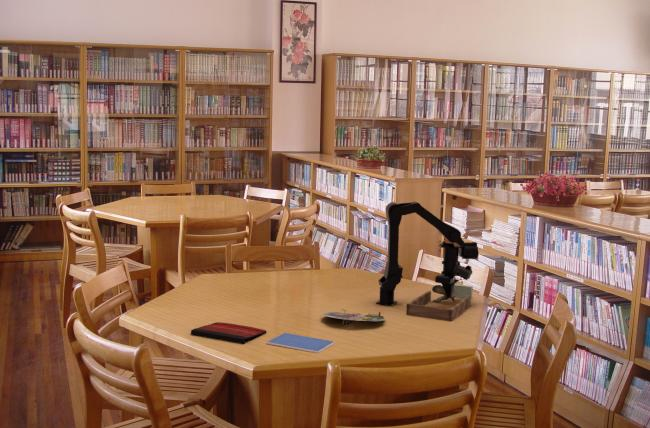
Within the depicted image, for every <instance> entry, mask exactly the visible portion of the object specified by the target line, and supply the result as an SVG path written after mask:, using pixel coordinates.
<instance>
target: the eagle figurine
mask: <svg viewBox="0 0 650 428" xmlns="http://www.w3.org/2000/svg"><path fill="white" fill-rule="evenodd" d="M431 290H432V291H431V292H433V293H436V294H439V295H442V296H439V297H437V298H436V299H433V300H432V303H441V302H443V301H448V300H449V299H450V300H452V302H455V298H456V297H455V295H456V291H455V290H454V289H453V291H452V293H451V297H450V298H448V297H447V295H446V293H445V290H444V288H443V286H442V284H436V285H433V286H432V288H431Z"/></svg>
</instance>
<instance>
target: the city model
mask: <svg viewBox="0 0 650 428" xmlns="http://www.w3.org/2000/svg"><path fill="white" fill-rule="evenodd" d="M341 311H343V312H338V311H331V312H330V311H329V312H322V316H326V317H327V318H328V317H329V318H334V319H340V320H342V324H343V326H346V327H347V328H348V327H349V326H351V323H352V321H363V322H364V321H365V322H382V321H383V322H384V321H386V319H387V318H384V317H385V316H383V315H381V312H380V311H379V312H378V314H377V313H376V314H375V313H368V314H361V313H351V312H346V309H344V308H343V309H341Z"/></svg>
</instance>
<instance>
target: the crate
mask: <svg viewBox="0 0 650 428" xmlns="http://www.w3.org/2000/svg"><path fill="white" fill-rule="evenodd" d="M431 298H432V291H431V290H427V291H425V292H424V293H423V294H421V295H419V296H417V297H416V298H414V299H412V301H409V302H407V303H406V313H405V314H406V315H408V316H414V317H421V318H426V319H427V318H428V319H435V320H442V321H449V322H452V321H453V320H455V319H456V318H457V317H459V316H460V315H461V314H463V312H465V311H466V310H467V309H469V308H470V307H471V304H472V302H471V300H472V299H471V296H468V297H466V298H463V299H462V300H460V301H459V302H458V303H457V304H455V305H454V306H452V307H451V308H450V309H449V308H442V307H435V306H429V305H428V306H427V305H426V304H428V303H429V302H431V300H432V299H431Z"/></svg>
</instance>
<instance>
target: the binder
mask: <svg viewBox="0 0 650 428" xmlns="http://www.w3.org/2000/svg"><path fill="white" fill-rule="evenodd" d="M266 334H267V330H266V329H262V328H257V327H252V326H247V325H242V324H235V323H230V322H213V323H210V324H206V325H203V326H200V327H197V328H194V329H193V328H192V329H191V330H190V335H191V336H195V337H202V338H207V339H212V340H213V339H214V340H219V341H224V342H229V343H235V344H241V345H245V344H246V343H245V342H247V341H248V342H252V341H254V340H256V339H258V338H260V337H263V336H264V335H266Z"/></svg>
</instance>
